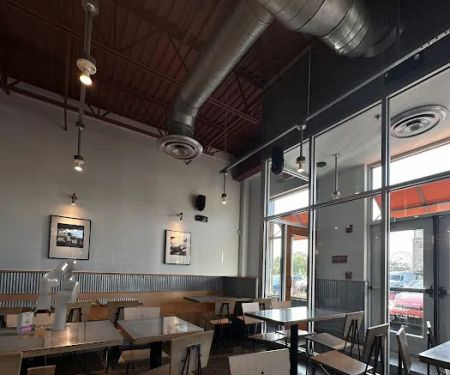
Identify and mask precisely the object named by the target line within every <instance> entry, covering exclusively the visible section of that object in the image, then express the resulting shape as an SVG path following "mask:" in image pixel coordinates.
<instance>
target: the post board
mask: <svg viewBox="0 0 450 375" xmlns="http://www.w3.org/2000/svg"><path fill="white" fill-rule="evenodd" d="M37 327H38V328H43V327H44V326H42V325H38V326H37ZM17 334H18V335H17V337H16V340H31V339H45V338H46V339H47V334H48V332H45V335H36V336H34V335H35V332H29V333H17Z"/></svg>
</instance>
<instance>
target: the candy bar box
mask: <svg viewBox="0 0 450 375" xmlns="http://www.w3.org/2000/svg"><path fill="white" fill-rule="evenodd" d="M34 313H35V312H34V311H27V312H20V313H18V315H17V321H16V330H15V334H28V333H32V332H33V331H32V330H33V321H34Z"/></svg>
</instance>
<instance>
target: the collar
mask: <svg viewBox="0 0 450 375" xmlns="http://www.w3.org/2000/svg"><path fill="white" fill-rule="evenodd" d="M34 333H35V335H34V336H36V335H45V333H46V326H43V328H38V326H36V327H35V329H34Z"/></svg>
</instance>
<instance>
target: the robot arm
mask: <svg viewBox="0 0 450 375" xmlns="http://www.w3.org/2000/svg"><path fill="white" fill-rule="evenodd" d="M83 269H84V263H83V262H82V260H81V261H80V260H77V259H71V258H70V259H66V258H65V259H63V260H61V262H60V263H59V264H58V265H57V267H56V268H54V269H52V270H50V271H48V272H46V273H45V274H44V275H43V276H42V277H41V278H40V280H39V285H40V288H39V296H37V300H36V303H35V304H34V305H31V306H30V307H31V310H32V312H34V314H33V317H35V318H36V317H37V312H38V310H48V317H51V315H52V311H53V310H54V314H53V322H52V323H53V324H52V327H50V330H51V331H65V330H67V328H69V327H70V328H71V326H72V325H71V323H70V324H69V323H68V324H66V319H67V318H66V317H67V311H68V309H67V308H68V307H67V305H66V304H73V303H75V302H76V299H77V297H78V295H79V291H80V289H81V283H80V281H78V280H75V279H76V275H75V273H74V272H75V271H77V272H78V271H79V272H80V271H82V270H83ZM64 275H65V276H64ZM62 276H64V279H63V281H62V284H61V287H60V289H61V290H60V291H58V292H56V294H55V296H54V301H55V304H54V303H52V297H51V295H52V294H53V292H51V289H52V288H57V287H58V285H59V283H60V279H59V278H60V277H62ZM51 306H52V307H51Z"/></svg>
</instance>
